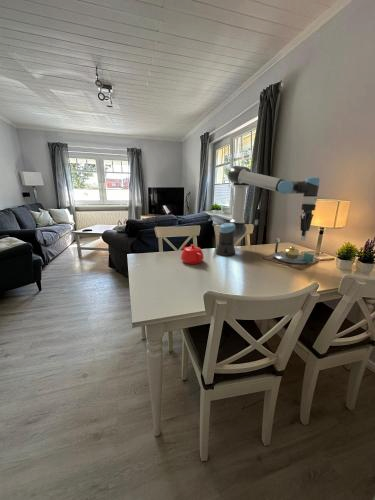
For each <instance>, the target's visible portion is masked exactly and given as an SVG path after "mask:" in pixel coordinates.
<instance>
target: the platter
mask: <svg viewBox="0 0 375 500" xmlns="http://www.w3.org/2000/svg"><path fill="white" fill-rule="evenodd" d="M272 254H273V258H274V259H276V260H278V261H281V262H285V263H291V264H306V263H308V262H313V259H314V258H315V254H311V253H307V252H304V253H303V254H301V253H299V254H298V258H288V257H285V256H284V254H285V251H283V252H280V251H277V252H275V251H274V252H273V253H272Z"/></svg>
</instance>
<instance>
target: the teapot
mask: <svg viewBox="0 0 375 500" xmlns="http://www.w3.org/2000/svg"><path fill="white" fill-rule="evenodd" d="M182 247H183V251H182V252H181V255H180V259H181V260H182V262H184V263H185V264H187V263H188V264H187V265H197V263H198V264H199V263H202V262H203V260H204V253H203V251H202V248H201V247H199V246H195V244H190V246H186V244H185V243H184V244H182Z"/></svg>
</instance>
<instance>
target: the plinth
mask: <svg viewBox="0 0 375 500" xmlns="http://www.w3.org/2000/svg"><path fill="white" fill-rule="evenodd" d="M279 252H284V250H280V251H279ZM261 259H262V260H266V261H269V262H272V263H276V264H280V265H282V266H286V267H289V268H293V269H296V270H299V271H302V270H304V269H306V268H309V267H310V266H312V265H315V264H317V263H319V262H320V261H319V259H313V262H308V263H306V264H291V263H285V262H281V261H278V260H276V259H274V258H273V253H272V254H269V255H265V256H262V257H261Z"/></svg>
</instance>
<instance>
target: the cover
mask: <svg viewBox="0 0 375 500" xmlns="http://www.w3.org/2000/svg"><path fill="white" fill-rule="evenodd" d="M284 252H285V254H284V256H285V257H288V258H298V254H300V250H299V249H297V248H296V246H290V247H286V248H285V250H284Z"/></svg>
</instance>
